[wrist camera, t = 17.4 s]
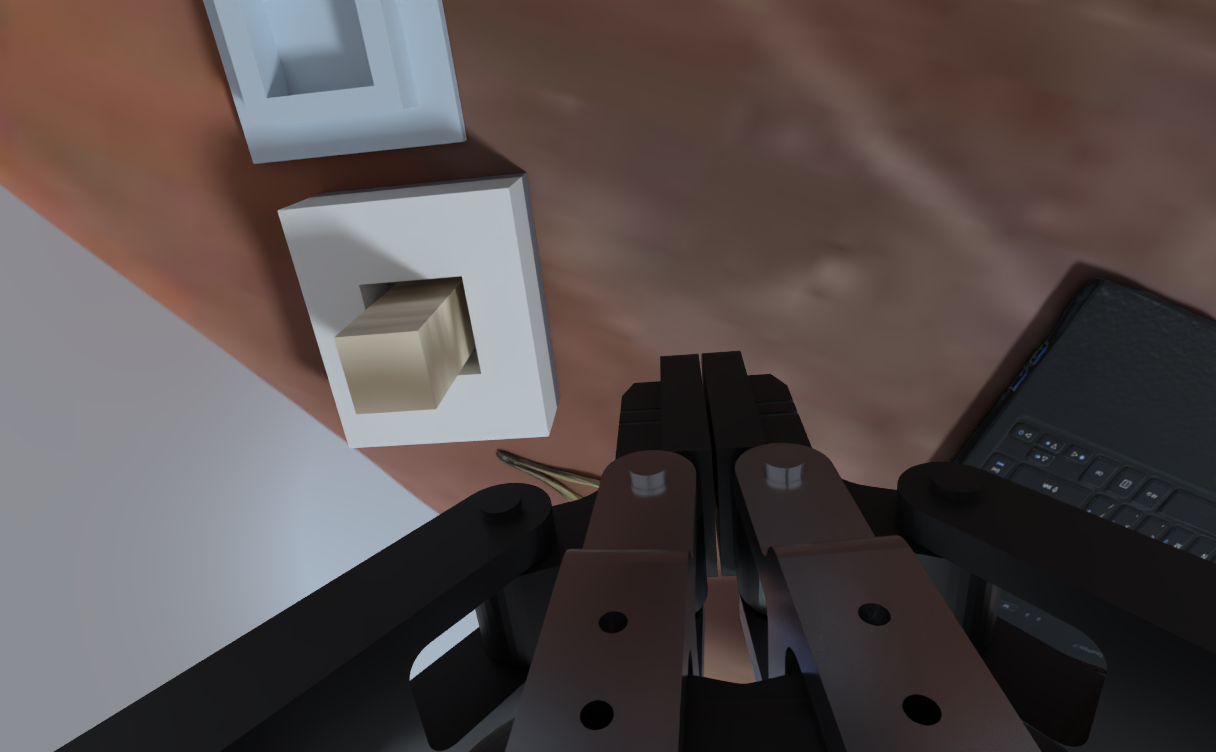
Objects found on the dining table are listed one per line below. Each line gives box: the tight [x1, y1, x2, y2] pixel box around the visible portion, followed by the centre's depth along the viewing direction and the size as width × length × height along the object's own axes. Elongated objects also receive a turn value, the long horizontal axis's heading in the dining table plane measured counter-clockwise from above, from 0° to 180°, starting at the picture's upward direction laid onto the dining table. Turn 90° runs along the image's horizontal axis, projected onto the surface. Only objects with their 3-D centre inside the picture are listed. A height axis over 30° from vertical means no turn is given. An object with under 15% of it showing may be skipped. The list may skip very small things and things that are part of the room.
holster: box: [203, 0, 467, 164], centre depth 34 cm, size 12×12×3 cm
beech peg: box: [334, 276, 476, 414], centre depth 36 cm, size 4×4×9 cm
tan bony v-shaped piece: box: [496, 451, 600, 502], centre depth 47 cm, size 4×13×2 cm, turn 70°
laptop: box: [952, 277, 1216, 676], centre depth 39 cm, size 33×38×19 cm
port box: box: [277, 173, 560, 448], centre depth 39 cm, size 14×12×5 cm
